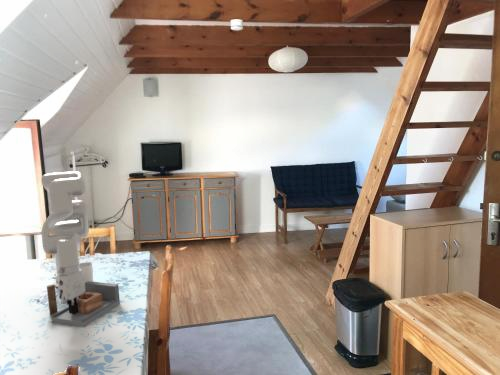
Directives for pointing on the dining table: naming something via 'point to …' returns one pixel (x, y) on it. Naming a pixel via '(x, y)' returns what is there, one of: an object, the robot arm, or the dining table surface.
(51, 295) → the dowel
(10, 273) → the dining table surface
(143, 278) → the dining table surface
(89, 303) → the block
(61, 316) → the grey open tray
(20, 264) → the dining table surface
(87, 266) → the drinking glass
